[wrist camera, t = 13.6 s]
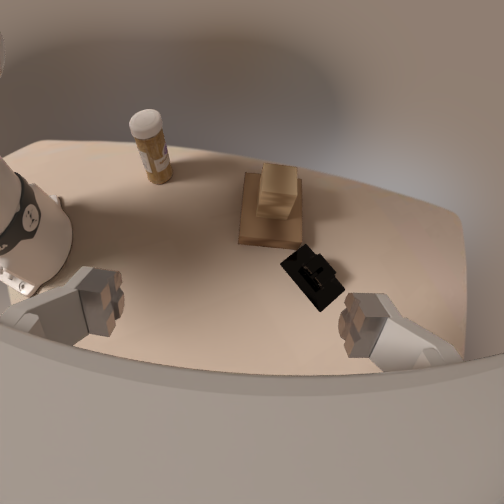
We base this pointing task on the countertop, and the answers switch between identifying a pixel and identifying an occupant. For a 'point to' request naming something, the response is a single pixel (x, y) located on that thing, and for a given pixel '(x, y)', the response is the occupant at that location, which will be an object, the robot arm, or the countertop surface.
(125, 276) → the countertop surface
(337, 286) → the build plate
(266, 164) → the oak block
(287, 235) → the walnut base block
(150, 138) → the sprinkles bottle
